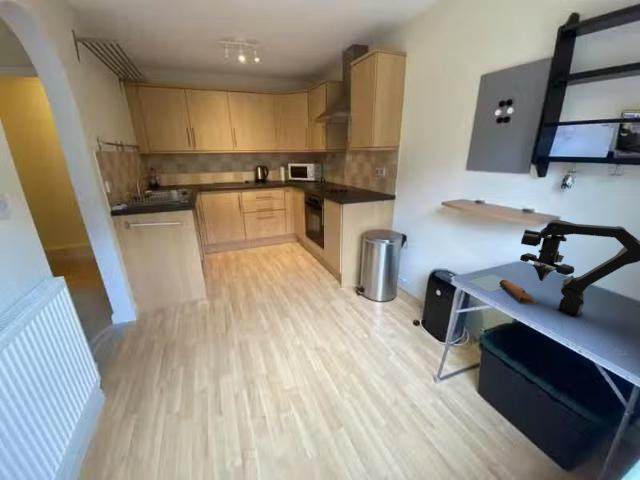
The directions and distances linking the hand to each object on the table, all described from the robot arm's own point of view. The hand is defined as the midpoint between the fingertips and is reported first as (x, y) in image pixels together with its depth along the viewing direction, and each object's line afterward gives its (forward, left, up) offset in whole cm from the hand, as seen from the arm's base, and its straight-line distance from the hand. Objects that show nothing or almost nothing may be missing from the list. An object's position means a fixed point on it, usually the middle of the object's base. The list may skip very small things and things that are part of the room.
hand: (541, 280), depth 124 cm
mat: (+22, 0, -12) cm, 25 cm away
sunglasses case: (+9, 0, -12) cm, 14 cm away
